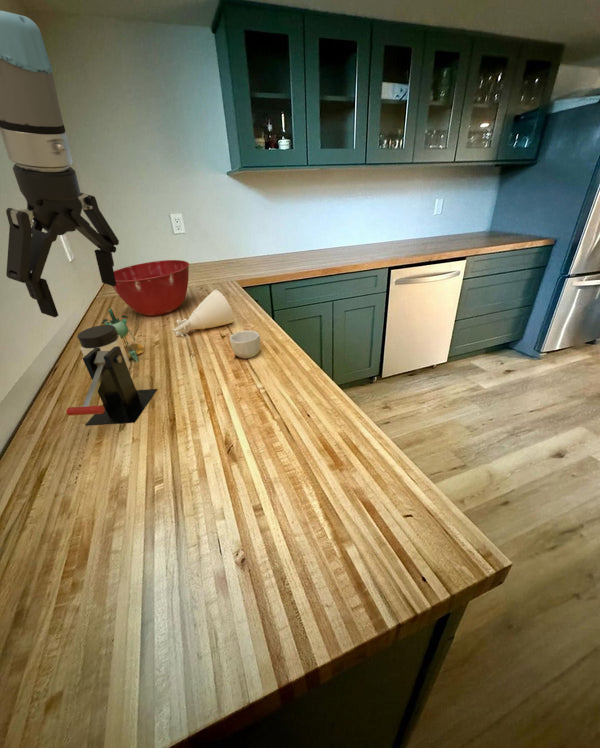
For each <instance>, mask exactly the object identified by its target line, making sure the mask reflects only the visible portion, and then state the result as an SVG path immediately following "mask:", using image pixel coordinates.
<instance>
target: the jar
mask: <svg viewBox="0 0 600 748" xmlns="http://www.w3.org/2000/svg"><path fill="white" fill-rule="evenodd" d="M76 337H77V339H78V342H79V344H80V346H81V347H80V351H81V353H82V355H83V357H84V356H86V355H87V354H88V353H89V352H90V351H92V350H93V349H94V348H100V350H101V351H110V350H111V349H112V348H114V347H116V346H119V347H120V349H121V352H122V354H123V357H124V360H125V362H126V365H127V367H128V370H130V367H131V361H130V359H128V356H127V353H126V351H125V348H124V347H125V346H124V345H125V344H124V343H123V339H121V337H120V335H118V333H117V330H116V328H115V327H114V326H112V325H104V324H100V325H95V326H91V327H88V328H86V329H83V330H81V331H80V332H79V333H78V334H77V336H76Z"/></svg>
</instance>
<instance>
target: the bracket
mask: <svg viewBox="0 0 600 748" xmlns="http://www.w3.org/2000/svg"><path fill="white" fill-rule="evenodd" d="M98 351H101V350H100V348H94V349H93V350H92V351H90V352H89V353H88V354H87V355H86V356H84V355H83V357H82V361H83V363H84V366H85V367H86V369H87V372H88V374H89V376H90V378H91V381H92V380H93V378H94V375H95V372H96V370H97V366H96V365H95V364H94V360H95V358H96V355H97V353H98ZM104 360H105V362H106V365H107V367H108V369H109V370H105V373H104V376H103V379H102V381H101V384H100V387H99V389H98V392H97V394H98V397H99V398H100V400H101V403H102V406H104V408H105V411H104V413H103V414H92V416H91V417H90V418H89V420H88V421H87V422H86V423H85V425H84V426H86V427H88V426H89V427H90V426H102V425H104V426H105V425H106V426H107V425H119V424H121V425H122V424H136V422H137V421H138V419H139V418H140V417H141V415H142V413H143V412H144V410H145V409H146V408H147V406H148V404H149V403H150V401H151V400H152V399H153V397H154V396H155V394H156V393H157V392H158V388H150V389H148V388H147V389H136V386H135V383H134V381H133V379H132V376H131V372H130V371H129V370H130V369H129V370H128V367H127V365H126V362H125V360H124V357H123V354H122V352H121V349H120V347H119V346H116V347H114V348H112V349H111V350H110V351H109V352H108V353H107V354H106V355H105V356H104Z"/></svg>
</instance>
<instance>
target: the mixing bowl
mask: <svg viewBox="0 0 600 748" xmlns="http://www.w3.org/2000/svg"><path fill="white" fill-rule="evenodd" d="M189 267H190V263H189V262H188V261H186V260H182V259H166V260H155V261H148V262H142V263H138V264H133V265H129V266H124V267H121V268H119V269H116V270H113V271H114V276H115V280H116V286H111V287H112V288H113V289H114V292H116V294H117V295H118V296H119V297H120V299H121V300H122V301H123V302H124V303H125V304H126V305H127V306H128V307H130V309H131V310H132V311H134V312H136V313H138V314H140V315H141V314H142V315H144V316H147V317H157V316H163V315H168V314H169V313H172V312H174V311H177V310H178V309H179V307H180V306H181V305H183V303H184V301H185V299H186V296H187V291H188V286H189V276H190V275H189V273H190V271H189V269H190V268H189Z"/></svg>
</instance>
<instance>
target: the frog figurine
mask: <svg viewBox="0 0 600 748" xmlns="http://www.w3.org/2000/svg"><path fill="white" fill-rule="evenodd" d="M108 313H109V316H110V318H111V319H110V320H109V319H108V318H105V319H102V323H101V324H102V325H112V326H114V327H115V328H116V330H117V333H118V335H120V337H121V340H122V341H123V342H124V345H125V346H124V348H125V351H126V353H127V356H128V359H129V360H133V362H136V363H138V362H139V357H138V355H140V354H142V353H144V352H145V345H144V344H141V343H140V342H139V343H131V344H129V342H128V340H127V337H126V336H127V335H128V334H129V333H130V335H131V337H132V339H133V341H134V342H136V338H135V337H134V335H133V333H132V332H131V330H130V329H129V327H128V325H127V323H128V319H129V317H128V316H127V315H124V314H123V315H121V316H120V317H121V318H122V319H121V320H120V318H119V317H117V318H116V315H115V313H114V311H113V309H112V308H109V309H108Z"/></svg>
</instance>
